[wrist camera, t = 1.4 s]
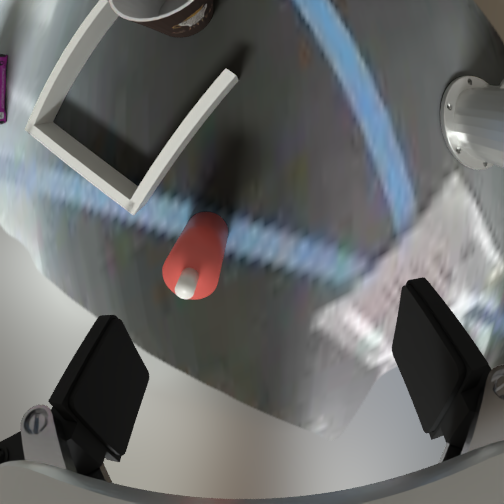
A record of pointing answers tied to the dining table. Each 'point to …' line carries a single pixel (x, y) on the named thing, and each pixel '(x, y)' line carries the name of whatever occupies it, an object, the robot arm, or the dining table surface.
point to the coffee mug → (167, 14)
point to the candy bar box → (3, 88)
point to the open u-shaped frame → (81, 156)
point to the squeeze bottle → (197, 257)
